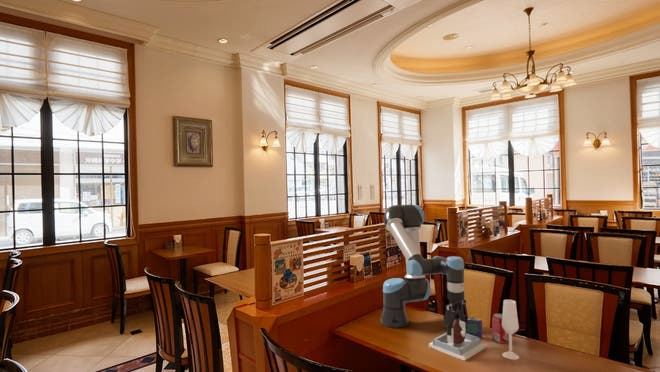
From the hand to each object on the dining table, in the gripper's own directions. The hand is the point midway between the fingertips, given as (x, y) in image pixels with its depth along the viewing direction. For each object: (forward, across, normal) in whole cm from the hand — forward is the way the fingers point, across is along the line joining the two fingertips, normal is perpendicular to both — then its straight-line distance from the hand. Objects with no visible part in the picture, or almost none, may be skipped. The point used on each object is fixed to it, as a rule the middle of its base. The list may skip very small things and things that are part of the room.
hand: (456, 338), depth 166 cm
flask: (+4, +16, +1) cm, 17 cm away
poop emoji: (+1, 0, 0) cm, 1 cm away
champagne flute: (+4, +10, -20) cm, 23 cm away
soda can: (+4, +22, -10) cm, 25 cm away
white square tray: (+4, 0, 0) cm, 4 cm away
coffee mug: (+4, +19, +13) cm, 23 cm away
